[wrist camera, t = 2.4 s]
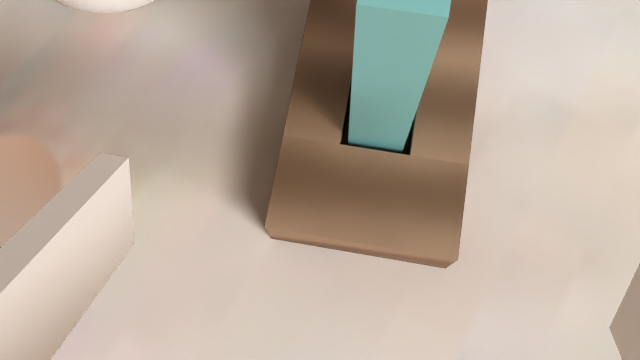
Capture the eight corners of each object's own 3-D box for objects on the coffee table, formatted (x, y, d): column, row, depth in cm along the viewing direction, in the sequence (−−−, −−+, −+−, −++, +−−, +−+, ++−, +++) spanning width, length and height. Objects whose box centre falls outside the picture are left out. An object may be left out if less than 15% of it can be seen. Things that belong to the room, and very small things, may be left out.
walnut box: (445, 268, 33) (457, 259, 30) (271, 238, 34) (264, 226, 30) (475, 18, 37) (489, -15, 34) (319, -4, 38) (318, -38, 35)
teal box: (398, 163, 34) (448, 17, 19) (347, 155, 35) (356, 4, 19) (409, 85, 36) (465, -111, 20) (360, 78, 36) (379, -122, 20)
